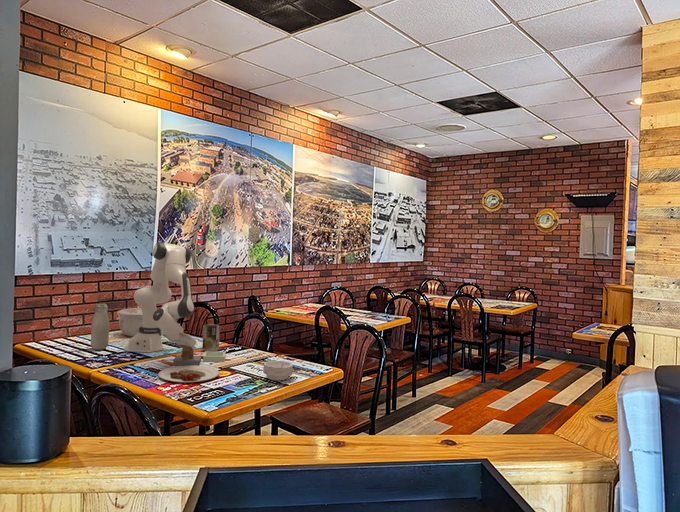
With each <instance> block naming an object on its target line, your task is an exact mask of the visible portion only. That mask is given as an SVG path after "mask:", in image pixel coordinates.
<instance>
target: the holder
mask: <svg viewBox="0 0 680 512" xmlns="http://www.w3.org/2000/svg"><path fill="white" fill-rule="evenodd" d="M225 361H226V351H204V353H203V356H202V362H203V363H225Z"/></svg>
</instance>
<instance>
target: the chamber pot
mask: <svg viewBox="0 0 680 512" xmlns="http://www.w3.org/2000/svg"><path fill="white" fill-rule="evenodd" d="M116 313H117V314H118V315H119V314H120V316H119V318H118V324H119V329H120V331H121V332H122V333H123V334H124V336H126V337H131V338H132V337H133V336H135V335H136V334H138V333H139V327H140V326H142V324H143V315H142V310H141V308H140V306H139V305H138V306H137V307H129V308H124V309H123V308H122V309H120V310H117V312H116Z"/></svg>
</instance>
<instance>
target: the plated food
mask: <svg viewBox="0 0 680 512" xmlns="http://www.w3.org/2000/svg"><path fill="white" fill-rule="evenodd" d="M157 375H158V378H160V379H162V380H165V381H169V382H174V383H182V384H183V383H187V384H188V383H190V384H191V383H197V382H198V383H200V382H205V381H209V380H212V379H215V378H216V377H218V376H219V375H220V371H219V370H218V369H216V368H215V367H211V366H205V365H199V366H197V365H187V366H172V367H167V368H164V369H162V370H160V371H159V372H158V374H157Z"/></svg>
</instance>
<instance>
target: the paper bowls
mask: <svg viewBox="0 0 680 512" xmlns="http://www.w3.org/2000/svg"><path fill="white" fill-rule="evenodd" d="M293 368H294V364H293V363H292V362H289V361H285V360H270V361H269V360H268V361H265V362H264V363H263V374H265V375H266V377H267V378H268V379H269V380H271V381H273V382H274V381H275V382H280V381H279V380H283V381H286V380H287V379H288V378H289V376H292V375H293V371H294V370H293ZM285 379H286V380H285Z"/></svg>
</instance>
